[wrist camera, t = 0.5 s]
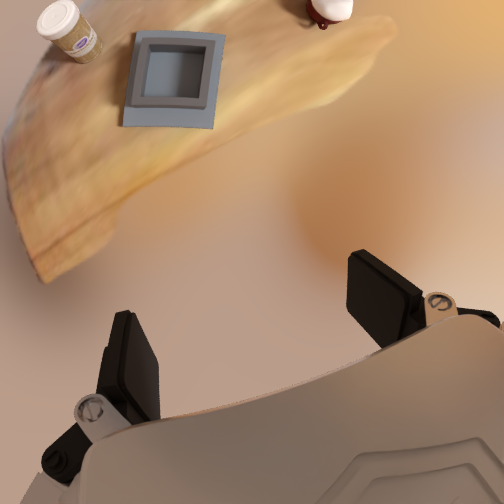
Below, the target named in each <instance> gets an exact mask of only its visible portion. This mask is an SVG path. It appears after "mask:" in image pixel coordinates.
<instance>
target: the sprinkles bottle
mask: <svg viewBox="0 0 504 504" xmlns="http://www.w3.org/2000/svg"><path fill="white" fill-rule="evenodd" d="M36 29H37V32H38V33H39V34H40V35H41V36H42V37H43V38H45V39H47V40H50V41H52V42H53V43H54V44H56V45H57V46H58V47H59V48H61V49H62V50H63V51H64V52H66V53H67V54H68V55H70V56H71V57H73V58H74V59H75V60H76V61H77V62H79V63H88V62H90V61H92V60H93V59H95V58H96V57H97V56H98V55H99V54H100V52H101V50H102V40H101V39H100V38H99V37H98V36H97V35H96V33H95V31H94V30H93V29H92V27H91V26H90V25H89V24H88V22H87V21H86V20H85V18H84V17H82V15H81V14H80V13H79V9H78V7H77V6H76V5H75V4H74V2H72V1H71V0H59V1H56V2H54V3H53V4H51V5H50V6H48V7H47V8H46V9H45V10H44V11H43V12H42V14H41V15H40V17H39V18H38V21H37V25H36Z"/></svg>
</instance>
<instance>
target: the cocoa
mask: <svg viewBox="0 0 504 504" xmlns="http://www.w3.org/2000/svg"><path fill="white" fill-rule="evenodd" d="M352 6H353V0H308V2H307V4H306V8H307V12H308V13H309V15H310V17H311V18H313V19H314V20H315V21H316V22H317V24H318V26H319V28H320V29H322V30H325V29H327V27H328V24H336V23H339V22H341V21H342V20H346V19H348V18H350V15H351V13H352ZM322 24H324V26H323V27H322Z"/></svg>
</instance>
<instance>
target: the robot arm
mask: <svg viewBox="0 0 504 504" xmlns="http://www.w3.org/2000/svg"><path fill="white" fill-rule="evenodd" d="M422 293H423V291H422V290H420V289H419V288H418V287H416V286H415V285H414V284H412V283H411V282H409V281H408V280H407V279H406V278H404V277H403V276H401V275H400V274H399V273H397V272H396V271H394V270H393V269H392V268H390V267H389V266H388V265H386V264H384V263H383V262H382V261H380V260H379V259H378V258H376V257H375V256H373V255H372V254H370V253H369V252H367V251H366V250H364V249H362V250H358V251H355V252H352V253H351V256H349V258H348V280H347V301H346V307H347V310H348V312H349V313H350V314H351V315H352V316H353V317H354V319H356V321H357V322H358V323H359V324H360V325H361V326H362V327H363V328H364V329H365V330H366V332H367V333H368V334H369V335H370V336H371V337H372V338H373V339H374V340H375V342H376V343H377V344H378V345H379V346H380V347H381V348H382V349H381V350H378V351H376V352H374V353H372V354H370V355H368V356H365V357H363V358H361V359H359V360H356V361H354V362H352V363H350V364H347V365H345V366H342V367H340V368H337V369H335V370H332V371H330V372H327V373H325V374H322V375H320V376H317V377H314V378H312V379H309V380H306V381H303V382H301V383H298V384H295V385H292V386H289V387H286V388H283V389H280V390H277V391H274V392H270V393H267V394H264V395H261V396H257V397H254V398H250V399H247V400H243V401H240V402H236V403H232V404H228V405H224V406H220V407H216V408H211V409H207V410H203V411H199V412H194V413H189V414H184V415H180V416H175V417H169V418H164V419H161V418H160V400H159V399H160V398H159V366H158V361H157V358H156V356H155V355H154V353H153V350H152V348H151V346H150V344H149V342H148V341H147V338H146V336H145V334H144V332H143V330H142V328H141V325H140V323H139V321H138V319H137V316H136V314H135V313H131V312H130V311H129V310H126V311H122V312H117V313H116V314H115V317H114V321H113V325H112V330H111V334H110V338H109V343H108V346H107V347H105V349H104V353H103V357H102V362H101V368H100V372H99V378H98V384H97V389H96V394H90V395H87V396H85V397H83V398H82V399H81V400H80V401H79V402H78V403H77V405H76V406H75V409H74V417H75V420H76V421H77V422H76V423H75V424H74V425H73V426H72V427H71V428H70V429H69V430H67V431H66V432H65V433H64V434H63V435H62V436H61V437H59V438H58V439H57V440H56V441H55V442H54V443H53V444H52V445H51V446H49V447H48V448H47V449H46V450H45V452H44V454H43V456H42V461H41V464H42V468H43V472H42V473H39V472H38V473H37V475H36V477H35V478H34V480H33V482H32V483H31V485H30V487H29V489H28V490H27V492H26V494H25V495H24V497H23V499H22V501H21V503H20V504H504V322H502V324H500V321H499V319H498V317H497V316H496V315H494V314H493V313H492V312H490V311H484V310H475V309H465V308H458V307H456V303H455V301H454V299H453V298H452V297H450V296H449V295H447V294H445V293H441V292H433V293H430V294H428V295H427V296H426V297H425V298H424V297H422Z"/></svg>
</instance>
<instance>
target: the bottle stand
mask: <svg viewBox="0 0 504 504" xmlns="http://www.w3.org/2000/svg"><path fill="white" fill-rule="evenodd" d="M225 36H226V35H223V34H214V33H203V32H190V31H137V35H136V39H135V44H134V49H133V54H132V59H131V65H130V71H129V77H128V83H127V91H126V98H125V107H124V116H123V127H184V128H203V129H213V125H214V116H215V108H216V100H217V92H218V84H219V76H220V69H221V62H222V55H223V49H224V42H225Z"/></svg>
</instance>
